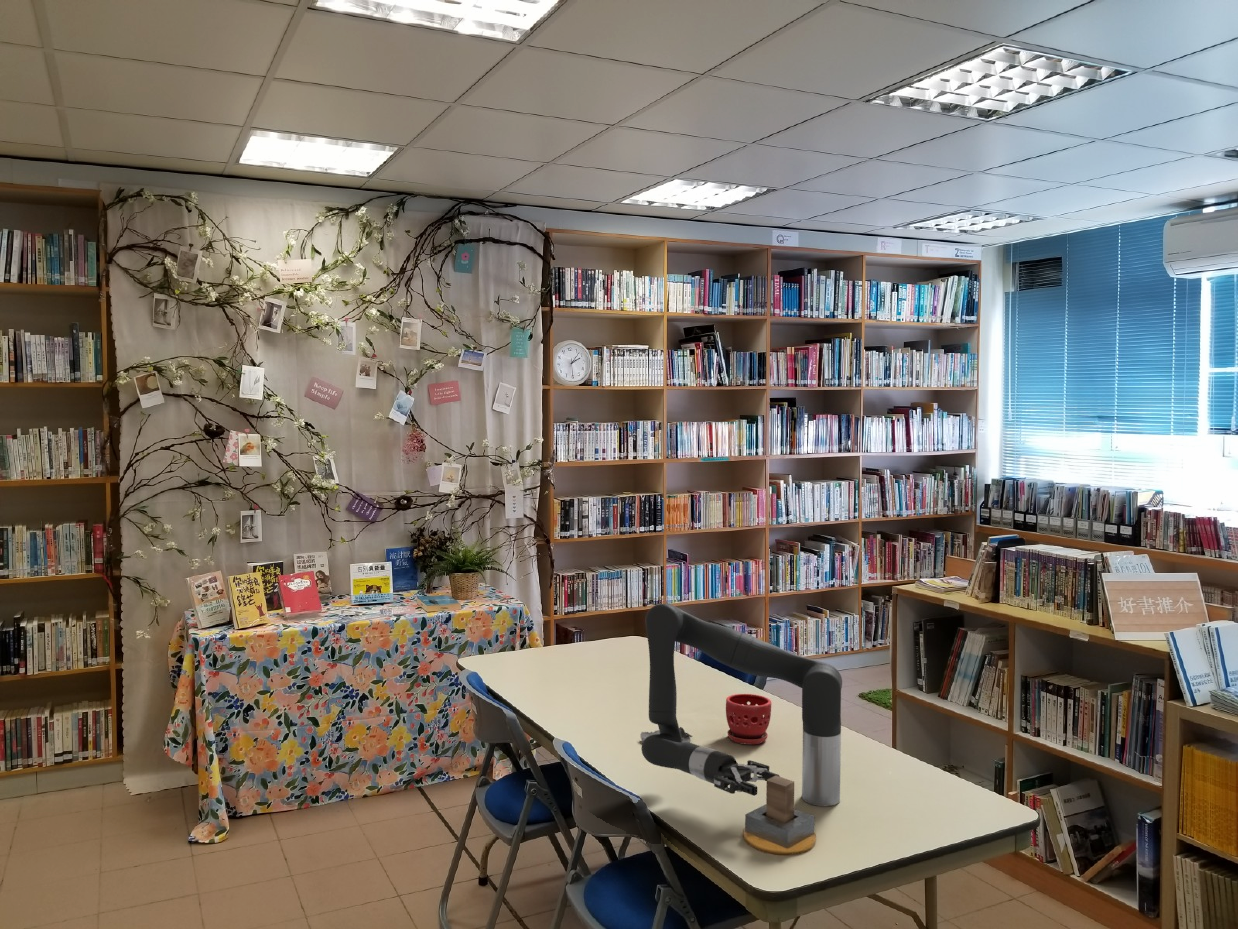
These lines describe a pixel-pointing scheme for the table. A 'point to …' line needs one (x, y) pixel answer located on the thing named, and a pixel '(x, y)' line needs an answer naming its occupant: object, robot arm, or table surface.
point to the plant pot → (748, 718)
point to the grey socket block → (779, 833)
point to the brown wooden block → (780, 799)
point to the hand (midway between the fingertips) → (767, 785)
